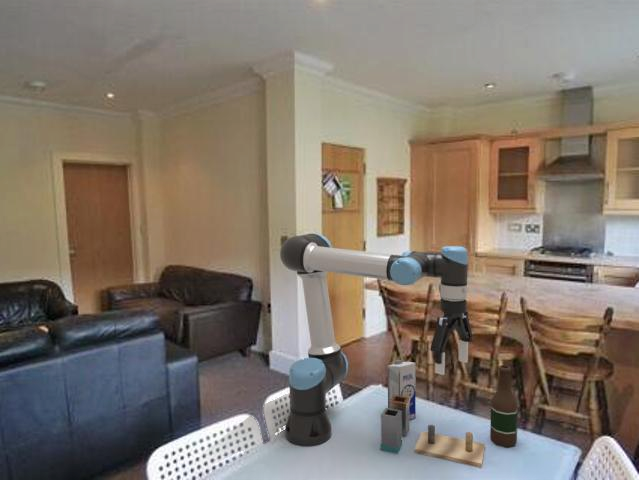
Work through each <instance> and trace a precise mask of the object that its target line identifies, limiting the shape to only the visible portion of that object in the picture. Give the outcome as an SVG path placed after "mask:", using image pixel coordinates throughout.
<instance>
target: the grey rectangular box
mask: <svg viewBox="0 0 639 480" xmlns="http://www.w3.org/2000/svg"><path fill="white" fill-rule="evenodd" d="M380 435H381V437H380V442H381V443H380V449H379V450H381V451H383V452H388V453H392V454H396V455H398V454H399V453H400V450H401V448H402V447H403V439H402V437H403V436H402V411H400V410H395V409H390V408H388V407H385V408H384V410H383V412H382V413H381V415H380Z"/></svg>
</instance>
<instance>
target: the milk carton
mask: <svg viewBox="0 0 639 480" xmlns="http://www.w3.org/2000/svg"><path fill="white" fill-rule="evenodd" d="M416 364H417V363H416V362H412V361H403V360H402V359H397V360H393V364H390V365H387V408H390V405H389V401H390V400H391V398H392V397H393V395H400V396H406V397H410V403H409V421H411V420H414V419H416V369H417V368H416Z"/></svg>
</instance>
